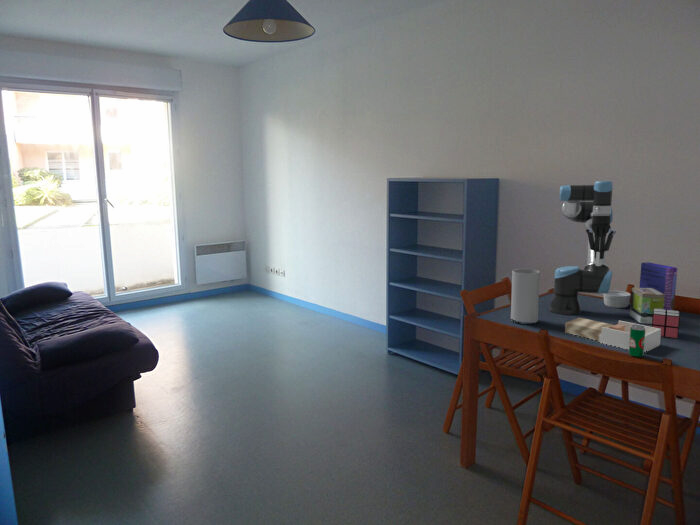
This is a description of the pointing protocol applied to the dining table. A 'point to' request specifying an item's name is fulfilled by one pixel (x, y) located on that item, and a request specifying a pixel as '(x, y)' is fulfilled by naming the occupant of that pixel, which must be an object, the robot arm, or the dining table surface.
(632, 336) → the soda can
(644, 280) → the cereal box
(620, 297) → the ramekin
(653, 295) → the tea box
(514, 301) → the cylinder vase
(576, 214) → the robot arm
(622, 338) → the box
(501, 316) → the dining table surface
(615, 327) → the rear tile
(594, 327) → the birch plate
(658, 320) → the puzzle cube
